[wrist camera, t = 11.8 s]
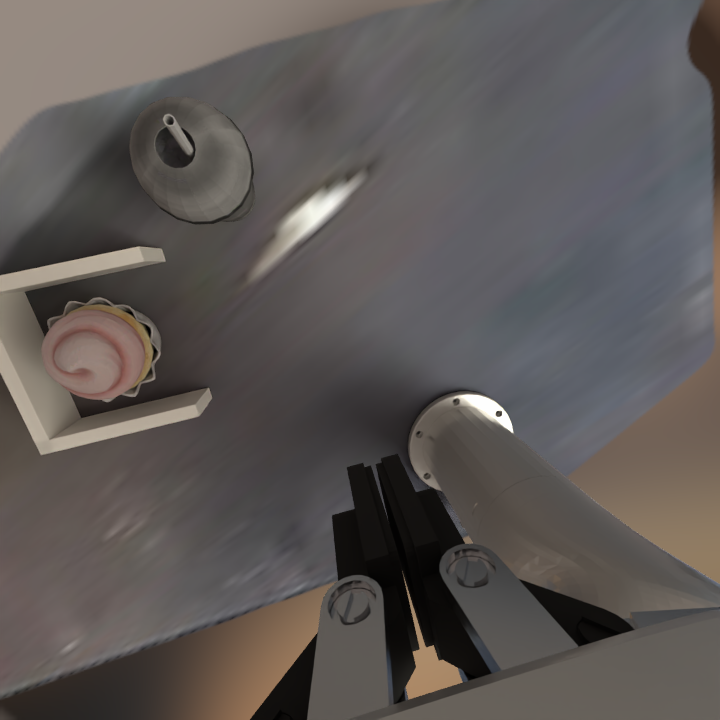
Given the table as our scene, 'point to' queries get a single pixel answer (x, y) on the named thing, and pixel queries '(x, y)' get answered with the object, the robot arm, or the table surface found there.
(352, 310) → the table surface
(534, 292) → the table surface
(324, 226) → the table surface
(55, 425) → the box
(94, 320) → the cupcake
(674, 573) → the robot arm
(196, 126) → the beverage cup
